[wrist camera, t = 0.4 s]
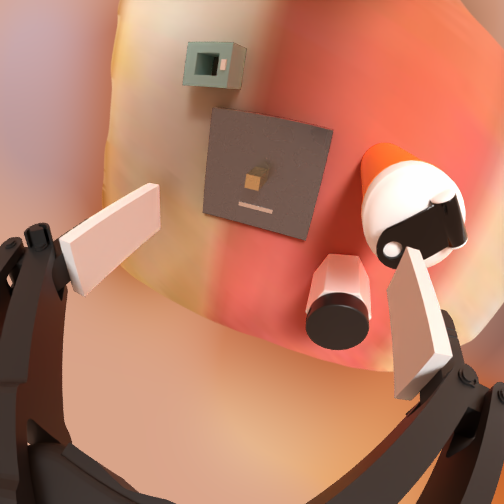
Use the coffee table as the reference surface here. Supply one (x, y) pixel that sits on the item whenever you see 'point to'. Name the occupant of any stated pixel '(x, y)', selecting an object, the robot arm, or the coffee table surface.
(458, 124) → the coffee table surface
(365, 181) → the shaker bottle
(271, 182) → the hub plate
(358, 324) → the jar
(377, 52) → the coffee table surface
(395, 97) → the coffee table surface
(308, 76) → the coffee table surface
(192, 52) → the teal open box
